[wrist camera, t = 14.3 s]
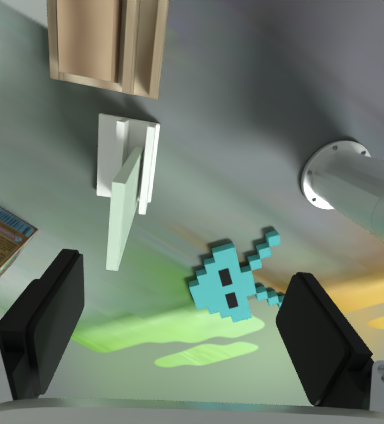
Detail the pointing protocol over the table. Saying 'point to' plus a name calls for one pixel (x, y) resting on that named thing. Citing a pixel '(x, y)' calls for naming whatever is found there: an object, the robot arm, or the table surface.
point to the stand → (126, 153)
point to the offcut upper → (87, 37)
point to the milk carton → (12, 238)
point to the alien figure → (232, 281)
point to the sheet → (123, 206)
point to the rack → (125, 48)
